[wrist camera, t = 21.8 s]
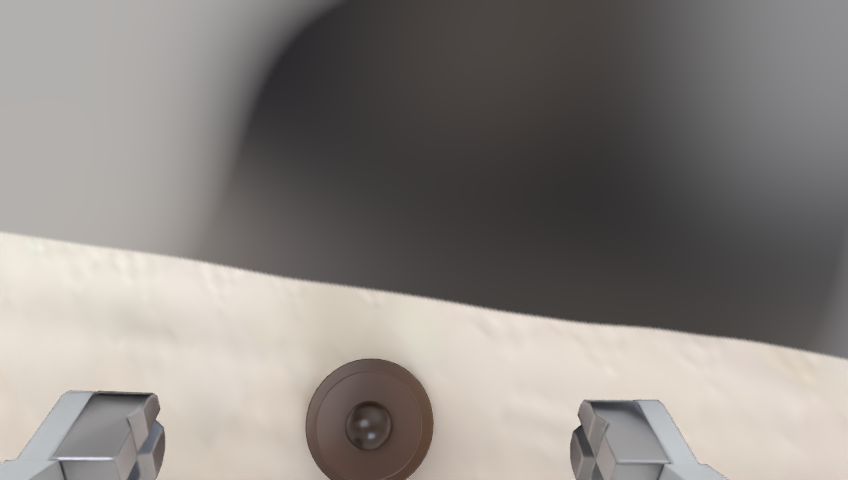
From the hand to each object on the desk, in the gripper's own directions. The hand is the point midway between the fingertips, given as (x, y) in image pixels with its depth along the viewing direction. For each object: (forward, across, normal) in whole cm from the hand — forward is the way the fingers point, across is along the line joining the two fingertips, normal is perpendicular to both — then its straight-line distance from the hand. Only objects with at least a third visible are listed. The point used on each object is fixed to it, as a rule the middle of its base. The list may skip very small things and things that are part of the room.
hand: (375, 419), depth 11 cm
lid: (+15, 0, +15) cm, 21 cm away
